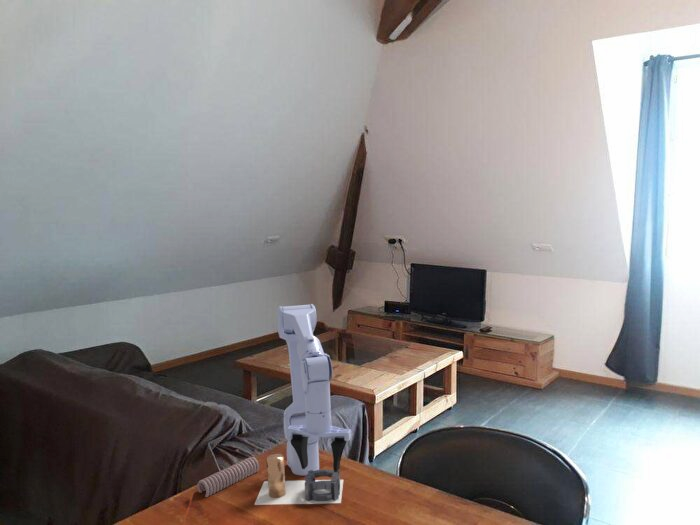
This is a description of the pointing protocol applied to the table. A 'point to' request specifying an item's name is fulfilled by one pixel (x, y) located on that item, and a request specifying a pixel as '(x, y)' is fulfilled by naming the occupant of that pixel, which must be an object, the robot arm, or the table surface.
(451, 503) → the table surface
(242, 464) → the coil
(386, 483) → the table surface
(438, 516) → the table surface
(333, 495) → the collar stand
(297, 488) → the base board
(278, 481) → the tube
